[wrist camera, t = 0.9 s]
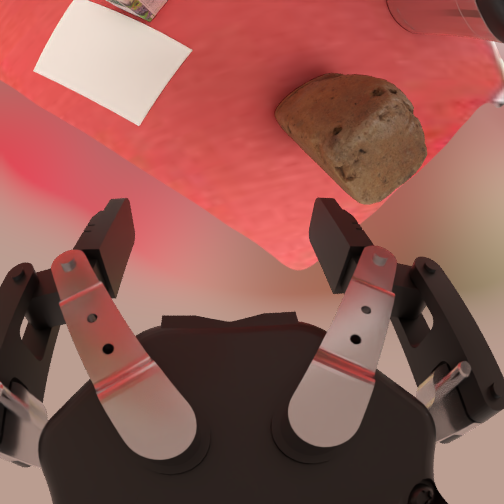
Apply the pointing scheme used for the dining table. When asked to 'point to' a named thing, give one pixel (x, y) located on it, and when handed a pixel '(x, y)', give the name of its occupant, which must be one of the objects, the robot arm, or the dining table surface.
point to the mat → (111, 59)
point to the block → (356, 132)
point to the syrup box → (140, 7)
